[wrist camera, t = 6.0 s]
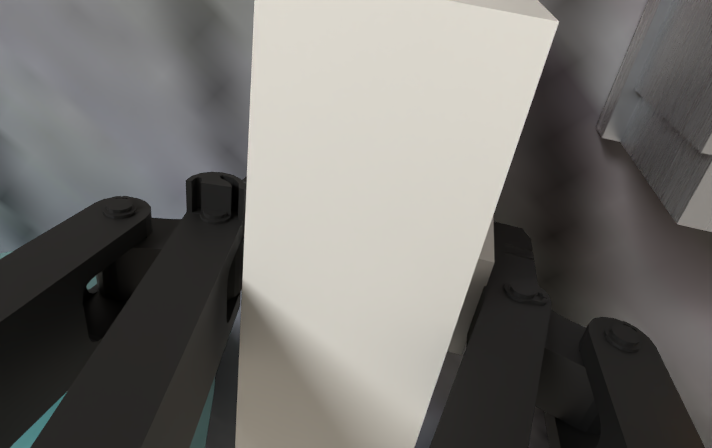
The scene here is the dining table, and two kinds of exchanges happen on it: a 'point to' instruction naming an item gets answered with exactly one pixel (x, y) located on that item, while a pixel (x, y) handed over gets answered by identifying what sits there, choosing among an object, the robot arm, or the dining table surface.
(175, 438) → the robot arm
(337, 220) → the block
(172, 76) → the dining table surface
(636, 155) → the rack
